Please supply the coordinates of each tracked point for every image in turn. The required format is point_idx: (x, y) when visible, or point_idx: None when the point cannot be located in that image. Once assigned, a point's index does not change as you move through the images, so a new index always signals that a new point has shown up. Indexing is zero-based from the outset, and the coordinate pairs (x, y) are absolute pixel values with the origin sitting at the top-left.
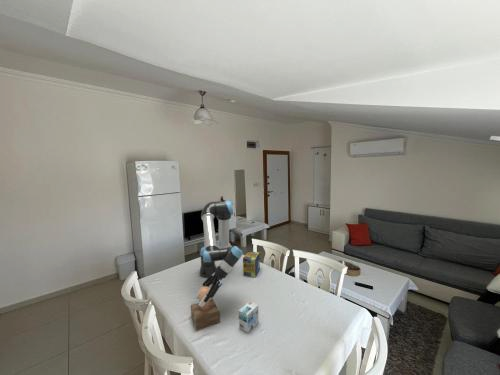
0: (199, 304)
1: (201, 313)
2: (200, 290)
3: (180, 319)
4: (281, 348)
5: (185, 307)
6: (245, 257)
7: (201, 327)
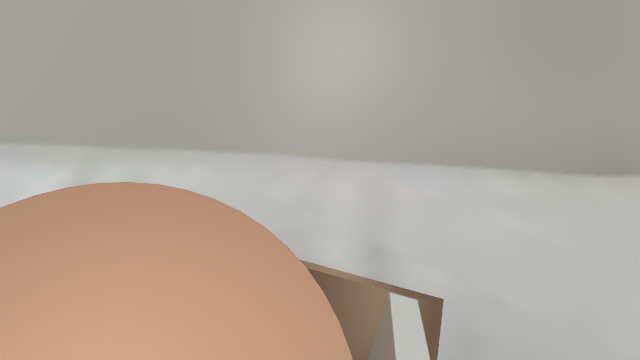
0: None
1: None
2: (150, 231)
3: (413, 225)
4: None
5: (578, 349)
6: None
7: None
